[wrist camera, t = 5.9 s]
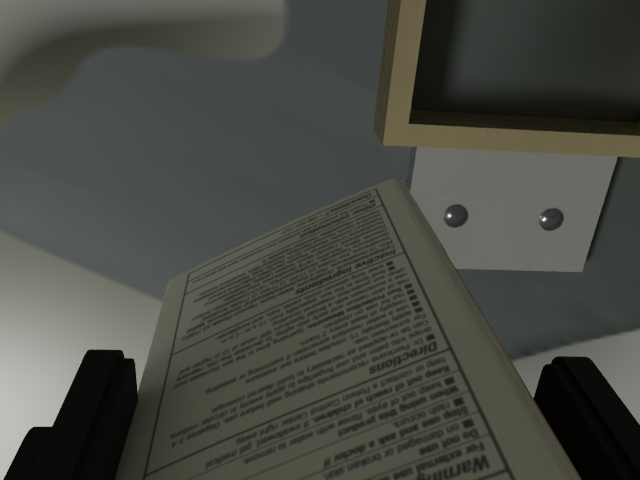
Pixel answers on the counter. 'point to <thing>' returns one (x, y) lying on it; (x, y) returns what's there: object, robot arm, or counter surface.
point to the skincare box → (334, 362)
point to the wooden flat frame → (497, 168)
